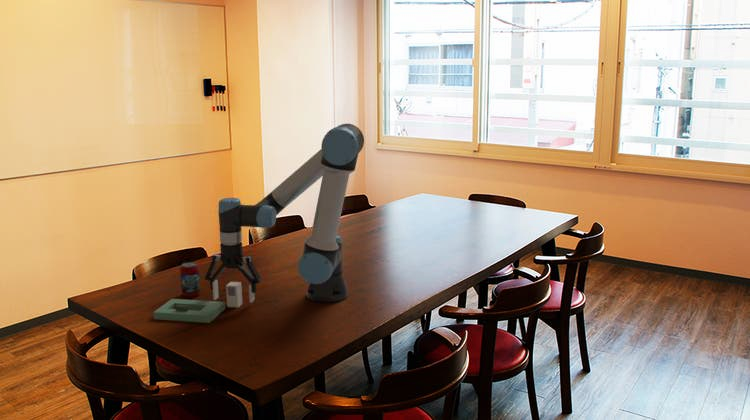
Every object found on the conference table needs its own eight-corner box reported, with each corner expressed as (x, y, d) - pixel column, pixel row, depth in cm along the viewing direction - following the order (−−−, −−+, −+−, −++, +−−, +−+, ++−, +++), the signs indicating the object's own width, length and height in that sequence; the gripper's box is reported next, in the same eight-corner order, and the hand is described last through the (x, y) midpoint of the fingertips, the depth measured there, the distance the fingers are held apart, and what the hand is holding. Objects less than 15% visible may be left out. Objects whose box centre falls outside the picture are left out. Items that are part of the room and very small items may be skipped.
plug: (242, 303, 245) (241, 282, 243) (237, 308, 241) (236, 286, 239) (231, 302, 246) (230, 281, 244) (226, 307, 241) (225, 285, 240)
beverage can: (182, 299, 250) (179, 267, 247) (182, 293, 256) (179, 262, 253) (201, 297, 252) (198, 266, 249) (200, 291, 258) (198, 260, 255)
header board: (225, 308, 240) (224, 297, 239) (209, 322, 227) (208, 311, 227) (172, 305, 244) (171, 294, 243) (154, 319, 231) (153, 307, 230)
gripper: (268, 241, 239) (270, 298, 244) (202, 237, 244) (205, 293, 249) (261, 247, 232) (263, 306, 237) (193, 243, 237) (196, 301, 242)
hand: (233, 300), depth 243 cm, fingers open, 13 cm apart
